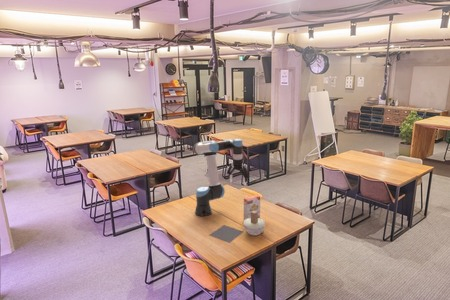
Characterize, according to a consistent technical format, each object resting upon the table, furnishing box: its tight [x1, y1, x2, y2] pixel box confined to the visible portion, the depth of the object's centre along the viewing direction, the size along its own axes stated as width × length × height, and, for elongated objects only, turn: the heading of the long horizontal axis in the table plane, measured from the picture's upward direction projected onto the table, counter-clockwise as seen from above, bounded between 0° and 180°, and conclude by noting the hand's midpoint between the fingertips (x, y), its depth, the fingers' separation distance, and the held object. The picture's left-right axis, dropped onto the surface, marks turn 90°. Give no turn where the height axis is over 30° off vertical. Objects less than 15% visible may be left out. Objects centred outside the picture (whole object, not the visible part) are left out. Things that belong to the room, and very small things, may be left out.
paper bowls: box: [244, 226, 265, 236], centre depth 246 cm, size 15×15×8 cm
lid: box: [243, 210, 266, 229], centre depth 244 cm, size 17×17×10 cm
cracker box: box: [243, 194, 261, 221], centre depth 266 cm, size 14×6×21 cm, turn 122°
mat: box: [209, 224, 245, 243], centre depth 246 cm, size 20×20×1 cm
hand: (238, 183), depth 250 cm, fingers open, 13 cm apart
